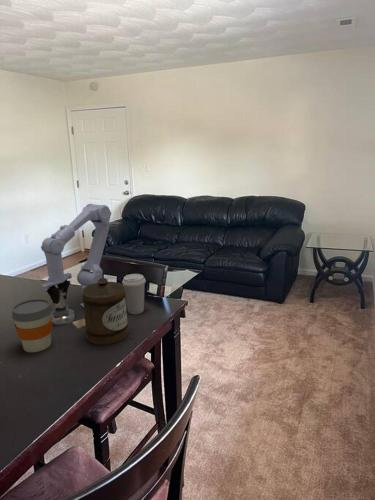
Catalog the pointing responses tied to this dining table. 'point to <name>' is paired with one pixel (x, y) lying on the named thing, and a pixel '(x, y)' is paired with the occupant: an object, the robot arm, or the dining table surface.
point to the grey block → (61, 299)
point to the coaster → (79, 323)
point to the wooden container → (105, 312)
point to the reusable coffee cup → (33, 324)
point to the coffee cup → (134, 292)
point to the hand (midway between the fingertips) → (59, 301)
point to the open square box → (61, 312)
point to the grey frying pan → (65, 320)
